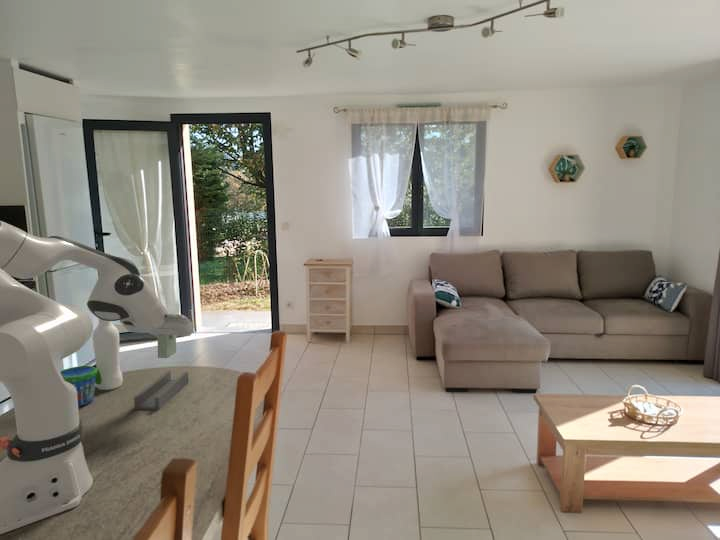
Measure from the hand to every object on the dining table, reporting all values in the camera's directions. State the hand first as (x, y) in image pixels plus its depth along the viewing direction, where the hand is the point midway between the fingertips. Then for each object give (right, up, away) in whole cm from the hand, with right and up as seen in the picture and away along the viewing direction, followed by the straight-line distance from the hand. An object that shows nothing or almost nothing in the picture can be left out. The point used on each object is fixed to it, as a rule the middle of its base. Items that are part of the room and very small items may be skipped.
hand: (167, 336), depth 152 cm
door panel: (0, -6, 0) cm, 6 cm away
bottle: (-23, -18, +9) cm, 31 cm away
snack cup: (-26, -20, -4) cm, 33 cm away
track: (-2, -19, +2) cm, 19 cm away
